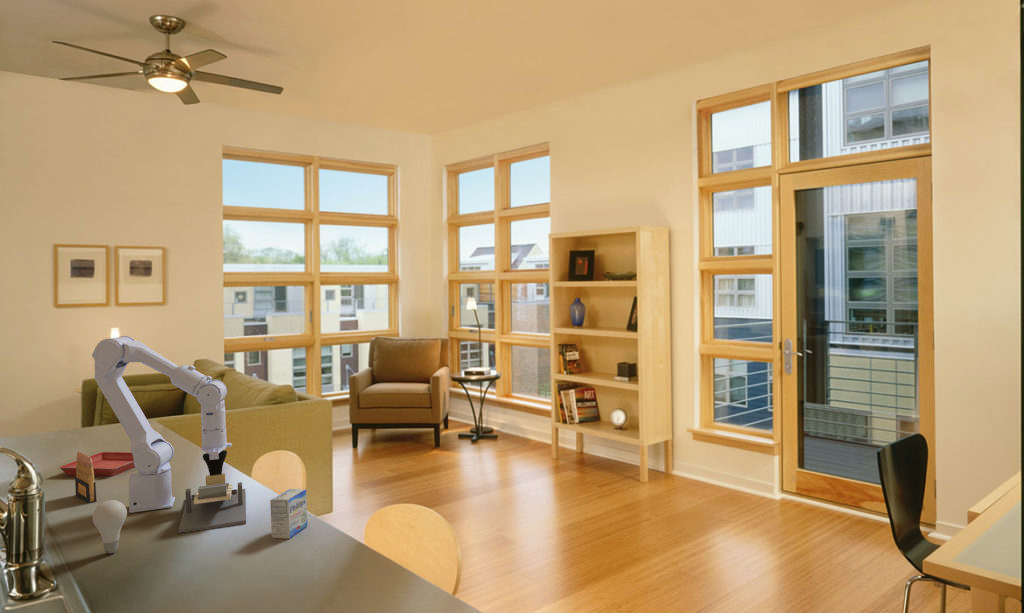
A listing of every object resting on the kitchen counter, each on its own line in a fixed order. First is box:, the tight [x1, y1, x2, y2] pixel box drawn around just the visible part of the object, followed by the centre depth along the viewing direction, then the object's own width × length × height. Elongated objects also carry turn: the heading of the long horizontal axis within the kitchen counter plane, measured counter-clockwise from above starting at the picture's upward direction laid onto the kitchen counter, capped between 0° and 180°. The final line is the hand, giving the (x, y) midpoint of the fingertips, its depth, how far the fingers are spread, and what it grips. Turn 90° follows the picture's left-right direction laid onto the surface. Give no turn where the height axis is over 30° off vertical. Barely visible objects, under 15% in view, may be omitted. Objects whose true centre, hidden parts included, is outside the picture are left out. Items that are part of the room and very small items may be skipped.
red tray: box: [59, 451, 135, 477], centre depth 200 cm, size 18×18×3 cm
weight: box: [205, 472, 226, 486], centre depth 164 cm, size 4×4×4 cm
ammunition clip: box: [74, 450, 97, 504], centre depth 171 cm, size 11×2×12 cm, turn 49°
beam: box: [191, 482, 238, 504], centre depth 160 cm, size 23×10×3 cm, turn 22°
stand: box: [178, 481, 247, 534], centre depth 160 cm, size 26×14×6 cm, turn 23°
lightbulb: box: [92, 499, 128, 555], centre depth 135 cm, size 6×6×11 cm
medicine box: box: [269, 488, 308, 540], centre depth 145 cm, size 8×4×9 cm, turn 168°
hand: (216, 480), depth 167 cm, fingers closed, pressing on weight
